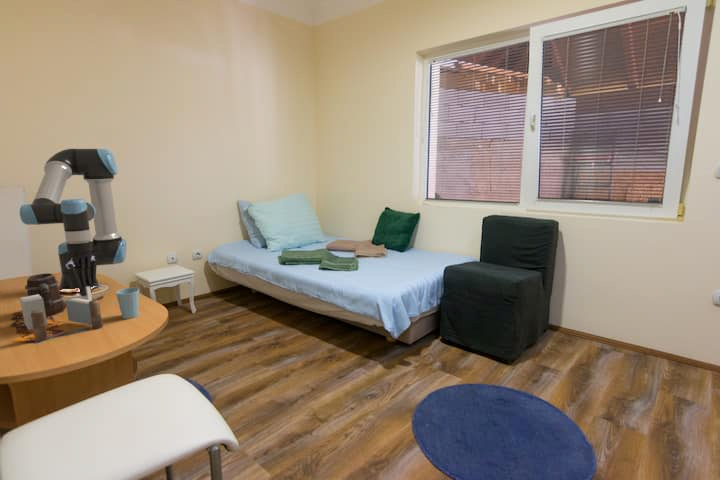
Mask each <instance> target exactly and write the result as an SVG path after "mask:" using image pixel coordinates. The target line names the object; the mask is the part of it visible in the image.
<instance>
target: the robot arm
mask: <svg viewBox="0 0 720 480" xmlns="http://www.w3.org/2000/svg"><path fill="white" fill-rule="evenodd" d="M43 171H44V174H43V177H42V179H41V182H40V184H39V187H38V189H37V192H36V194H35V197H34V199H33V200H32V202H31V203H28V204H27V203H26V204H23V205H21V206H20V208H19V216H20V217H19V218H20V220H21V222H22V223H23V224H24V225H28V226H29V225H33V226H34V225H37V226H39V225H53V224H63V230H64V235H65V236H64V237H65V241H64V242H60V243H59V244H58V246H57V252H58V253H57V254H58V255H57V256H58V259H59V265H60V272H61V278H60V281H59V285H58V289H59V291H60V290H62V289H75V288H79V289H80V293H79V295H80V297H81V299H85V300H93V298H92V293H93V289H91V287H93V286H98V285H99V280H98V278H97V267H98V266H108V265H109V266H110V265H117V264H118V265H119V264H123V263H124V261H125V260H126V258H127V257H126V255H127V240H126V239H125V238H122V235H121V233H119V232H118V228H117V222H116V220H117V219H116V212H115V206H114V197H113V190H112V181H113V180H114V179H115V177H114V176H117V174H118V167H117V163H116V160H115V157H114V155H113V152H111V150H109V149H106V148H105V149H104V148H66V149H62V150H61V151H58V152H57V153H55V154H53V155H52V156H51V157H49V159H48V160H47V161H46V162H45V164H44V167H43ZM72 176H82V177H83V180H84V181H86V183H87V184H88V189H89V198H90V202H86V200H85V199H84V198H72V199H71V198H70V199H63V200H61V198H62V195H63V192H64V190H65V186H66V183H67V182H68V181H67V180H69V179H70V178H71V177H72ZM92 220H93V225H94V231H95V234H94V236H93V237H92V236H91V235H92V234H91V229H90V221H92ZM91 240H92V241H91ZM98 287H99V286H98Z"/></svg>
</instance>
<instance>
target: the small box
mask: <svg viewBox="0 0 720 480" xmlns="http://www.w3.org/2000/svg"><path fill="white" fill-rule="evenodd" d="M19 300H20V301H19V302H20V307H21V311H22V317H23V322H24V325H25V326H26V328H27V330H28V331H31V330H34V329H33V323H32V318H31V311H34V310H40V309H43V312H44V318H45V324H46V327H47V326H48V319H47V316H46V312H45V307H44V301H43V298H42V297H41V296H40V295H39V294H37V295H32V296H28V295H27V296H22V297H19Z"/></svg>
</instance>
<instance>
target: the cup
mask: <svg viewBox="0 0 720 480" xmlns="http://www.w3.org/2000/svg"><path fill="white" fill-rule="evenodd" d="M115 296H116V298H117V301H118V306H119V310H120V313H121V317H122V319H123V320H124V319H125V320H130V319H134V318H137V317H138V316H140V315H139V313H140V310H139V309H140V307H139V306H140V304H139V303H140V298H139V297H140V288H138V287H127V288H126V287H125V288H122V289H118V290H117V291H116V292H115Z"/></svg>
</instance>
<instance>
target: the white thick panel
mask: <svg viewBox="0 0 720 480" xmlns="http://www.w3.org/2000/svg"><path fill="white" fill-rule="evenodd" d="M92 300H93V299H92ZM92 300H85V299H82V298H77V297H69V296H68V297H63V301H64V302H65V307H66V312H67V318H68V322H72V323H79V324H85V325H90V326H92V321H91V314H90V307H89V301H92Z"/></svg>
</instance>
